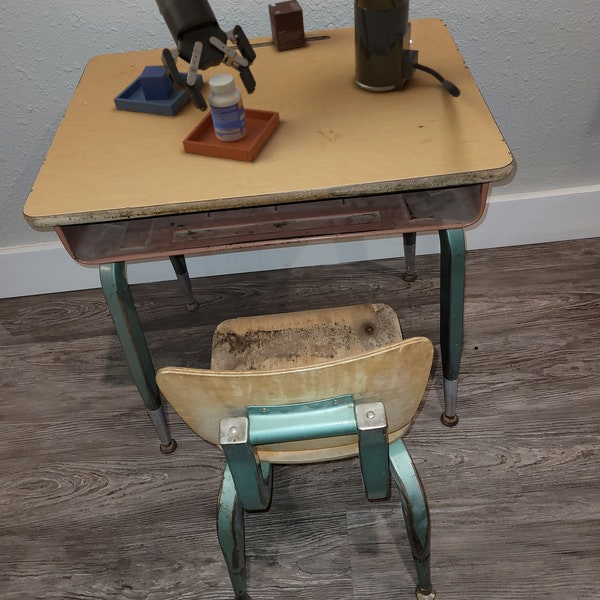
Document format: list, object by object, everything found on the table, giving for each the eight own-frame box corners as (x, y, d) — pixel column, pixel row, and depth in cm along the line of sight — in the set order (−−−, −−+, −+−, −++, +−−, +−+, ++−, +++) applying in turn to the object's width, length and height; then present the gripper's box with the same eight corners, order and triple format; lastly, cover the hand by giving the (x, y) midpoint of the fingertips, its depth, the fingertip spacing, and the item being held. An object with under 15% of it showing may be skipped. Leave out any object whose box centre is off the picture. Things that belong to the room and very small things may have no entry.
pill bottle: (250, 138, 99) (241, 83, 92) (219, 145, 98) (207, 90, 91) (244, 122, 103) (235, 68, 96) (213, 129, 102) (202, 75, 95)
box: (306, 46, 123) (303, 9, 117) (277, 51, 122) (273, 14, 117) (299, 34, 127) (296, -2, 121) (271, 39, 126) (267, 3, 121)
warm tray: (280, 122, 103) (278, 112, 101) (251, 161, 95) (249, 151, 94) (217, 114, 106) (215, 104, 105) (185, 152, 99) (182, 141, 97)
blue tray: (203, 84, 115) (201, 74, 113) (173, 116, 107) (170, 106, 106) (149, 78, 119) (147, 68, 117) (116, 109, 111) (113, 99, 110)
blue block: (174, 87, 114) (168, 64, 111) (168, 99, 111) (162, 76, 108) (152, 88, 114) (145, 65, 111) (145, 100, 111) (138, 77, 108)
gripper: (143, 5, 88) (191, 106, 89) (228, -20, 93) (273, 76, 94) (140, 31, 95) (185, 124, 97) (219, 5, 100) (262, 95, 101)
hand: (229, 100), depth 95 cm, fingers open, 8 cm apart
